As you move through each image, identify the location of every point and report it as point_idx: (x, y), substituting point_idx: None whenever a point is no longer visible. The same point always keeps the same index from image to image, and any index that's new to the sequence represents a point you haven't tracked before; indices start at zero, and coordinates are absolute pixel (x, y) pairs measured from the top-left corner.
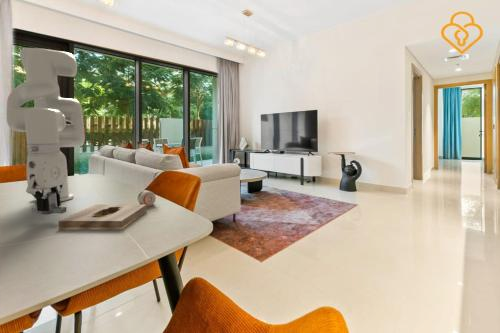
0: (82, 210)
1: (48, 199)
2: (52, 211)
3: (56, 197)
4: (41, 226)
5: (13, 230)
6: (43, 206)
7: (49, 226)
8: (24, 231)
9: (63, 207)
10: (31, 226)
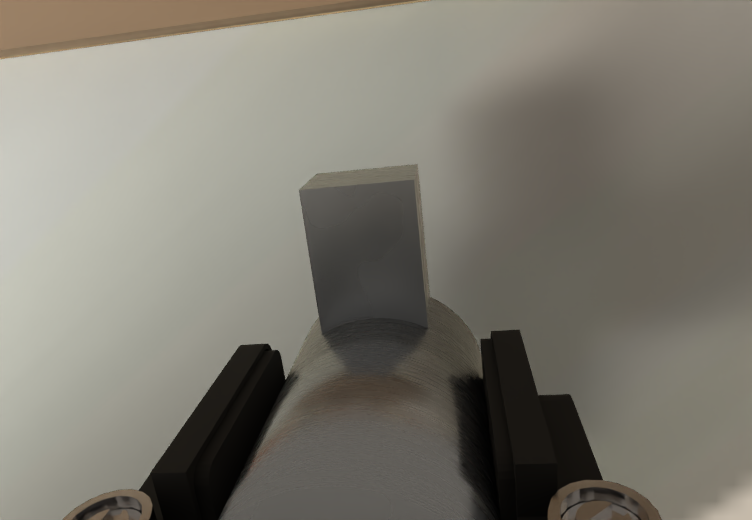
0: (160, 19)
1: (466, 460)
2: (434, 310)
3: (287, 427)
4: (569, 283)
5: (694, 454)
6: (567, 408)
7: (568, 193)
8: (737, 329)
9: (335, 212)
10: (569, 384)
